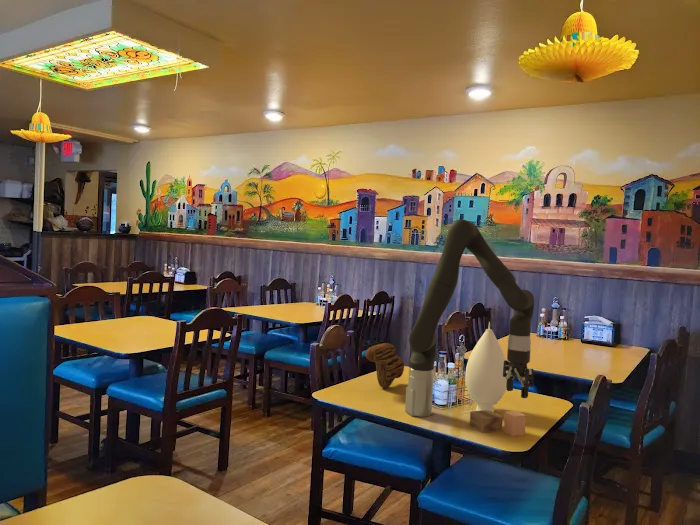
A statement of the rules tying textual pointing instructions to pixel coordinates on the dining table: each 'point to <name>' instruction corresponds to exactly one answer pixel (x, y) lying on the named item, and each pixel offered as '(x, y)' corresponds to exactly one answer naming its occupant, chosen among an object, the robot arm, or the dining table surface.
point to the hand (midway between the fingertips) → (516, 394)
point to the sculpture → (385, 363)
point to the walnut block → (486, 421)
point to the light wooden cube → (514, 423)
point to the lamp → (486, 372)
